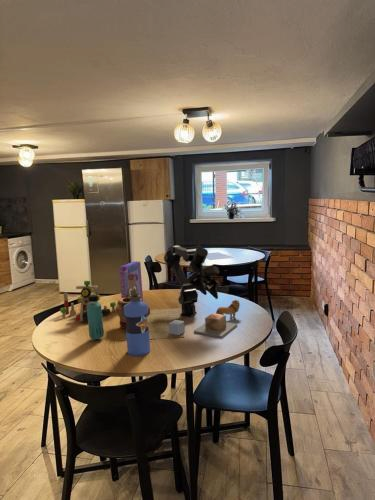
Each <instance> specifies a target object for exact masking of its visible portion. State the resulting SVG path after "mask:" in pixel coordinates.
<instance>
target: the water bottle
mask: <svg viewBox="0 0 375 500" xmlns="http://www.w3.org/2000/svg"><path fill="white" fill-rule="evenodd" d="M139 294H140V293H139V292H138V291H137V290H133V291H132V292H131V293H130V295H131V296H130V302H129V303H128V304H126V305H124V315H125V319H126V324H127V326H126V330H125V337H126V348H127V349H126V350H127V354H128V355H129V356H131V357H142V356H146V355H148V354H149V353H150V352H151V344H150V343H151V340H150V330H149V329H150V328H149V324H148V317H149V316H148V307H149V304H148V303H147V302H144V301H143V300H142V301H143V302H142V301H140V300H141V296H140V295H139ZM147 316H148V317H147Z"/></svg>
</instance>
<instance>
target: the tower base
mask: <svg viewBox="0 0 375 500" xmlns="http://www.w3.org/2000/svg"><path fill="white" fill-rule="evenodd" d="M237 327H238V323H234V322H228V321H227V314H224V315H221V314H216V313H213V312H212V313H211V314H209V315H207V316H206V317H204V324H202V325H200V326H199V327H197V328H196V329H194V330H193V333H194V334H197V335H203V336H208V337H212V338H213V337H214V338H219V339H223V338H224V337H226V336H227V335H228V334H229V333H231V331H233V330H234V329H235V328H237Z"/></svg>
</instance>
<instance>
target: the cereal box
mask: <svg viewBox="0 0 375 500" xmlns="http://www.w3.org/2000/svg"><path fill="white" fill-rule="evenodd" d="M118 268H119V269H118V271H119V282H120V283H119V284H120V294H121V295H120V296H121V299H122V298H128V297H130V296H131V295H130V293H131V292H132V291H133V290H137V291H138V292H139V293H140V294H139V295H140V296H141V299H142V301H143V300H144V297H143V281H142V267H141V261H131V262H129V263H127V264H124V265H121V266H119V267H118Z"/></svg>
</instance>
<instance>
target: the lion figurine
mask: <svg viewBox="0 0 375 500" xmlns="http://www.w3.org/2000/svg"><path fill="white" fill-rule="evenodd" d="M240 306H241V303H240V300H238V299H234V300H232V301H231V303H230V305H228V306H220V307H218V308H217V310H215V311H216V312H215V314H221V315H229V318H230V319H233V320H235V319H236V320H237V318H236V314H237V313H238V312H239V309H240Z"/></svg>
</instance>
